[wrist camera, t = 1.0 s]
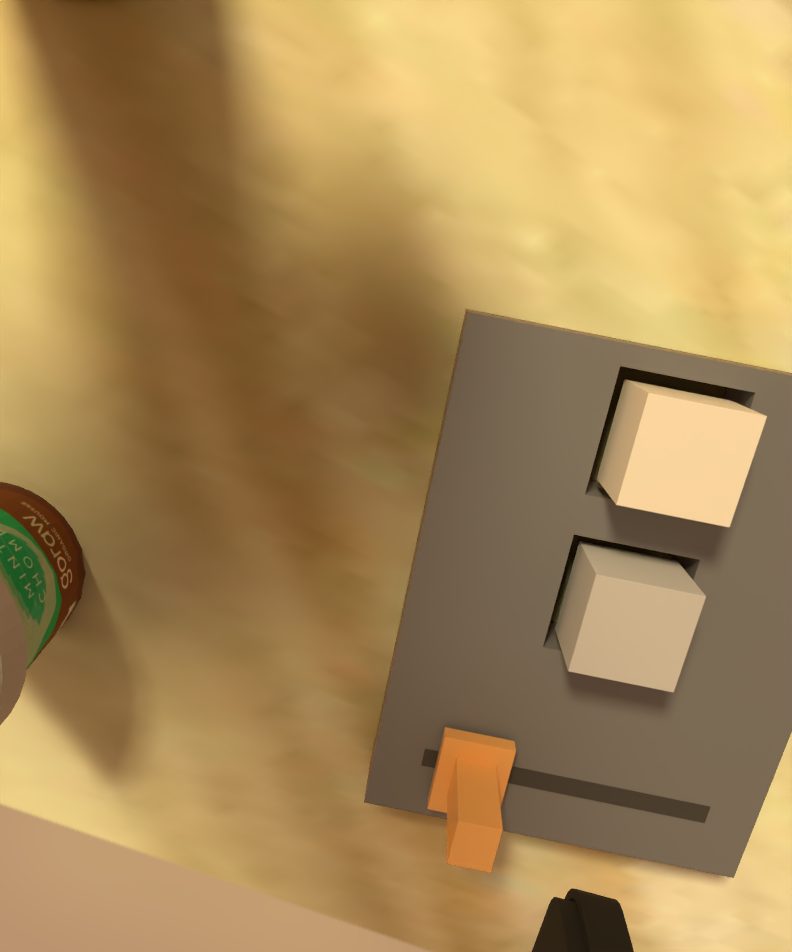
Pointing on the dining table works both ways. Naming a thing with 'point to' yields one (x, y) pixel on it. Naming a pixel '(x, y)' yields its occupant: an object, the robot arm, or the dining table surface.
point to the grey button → (628, 616)
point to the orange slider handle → (471, 794)
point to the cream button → (679, 452)
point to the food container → (32, 583)
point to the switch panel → (534, 595)
